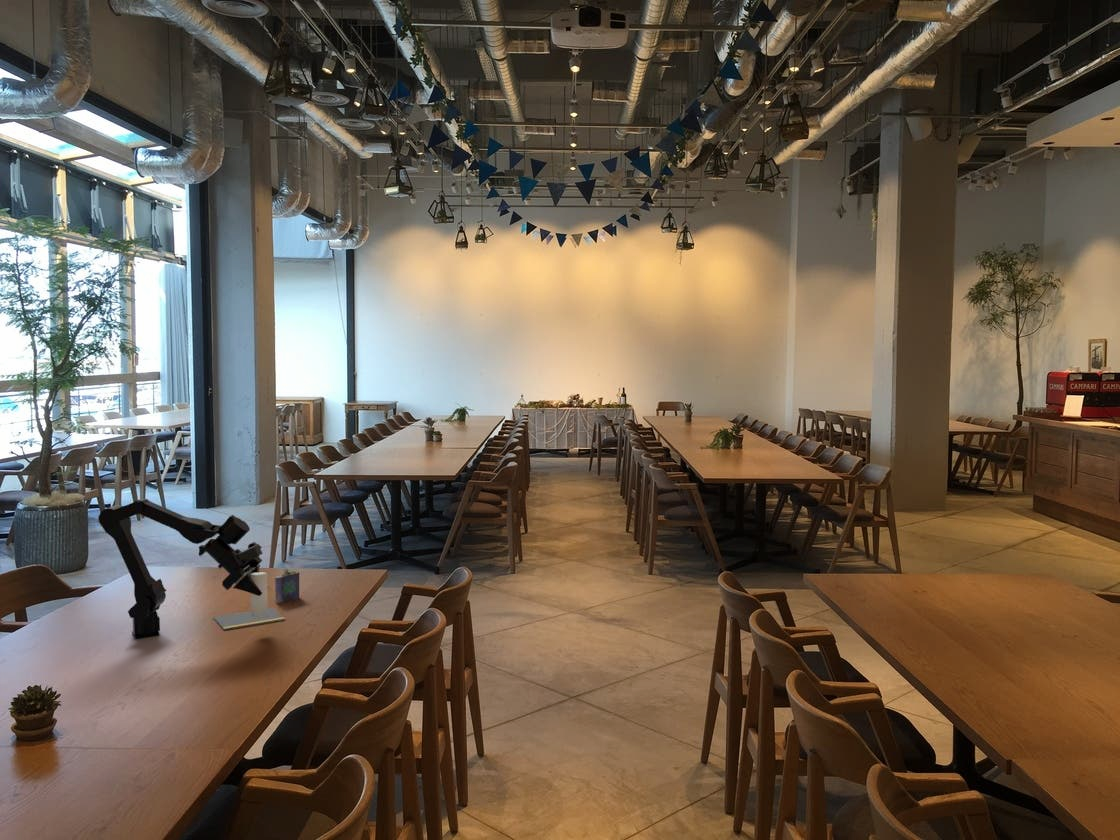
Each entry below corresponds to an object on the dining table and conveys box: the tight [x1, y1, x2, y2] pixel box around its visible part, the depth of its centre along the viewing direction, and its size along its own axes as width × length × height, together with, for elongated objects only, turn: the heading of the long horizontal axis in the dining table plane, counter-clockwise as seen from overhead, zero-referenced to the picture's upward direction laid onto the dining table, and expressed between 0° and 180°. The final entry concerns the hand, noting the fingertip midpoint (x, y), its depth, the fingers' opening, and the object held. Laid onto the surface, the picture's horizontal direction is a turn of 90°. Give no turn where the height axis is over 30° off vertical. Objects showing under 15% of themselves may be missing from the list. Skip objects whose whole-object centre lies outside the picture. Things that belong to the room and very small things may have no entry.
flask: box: [274, 568, 300, 605], centre depth 289 cm, size 9×3×11 cm, turn 146°
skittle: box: [250, 571, 269, 617], centre depth 255 cm, size 5×5×12 cm
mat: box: [213, 607, 286, 631], centre depth 269 cm, size 18×14×1 cm
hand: (263, 592), depth 255 cm, fingers closed on skittle, 5 cm apart
